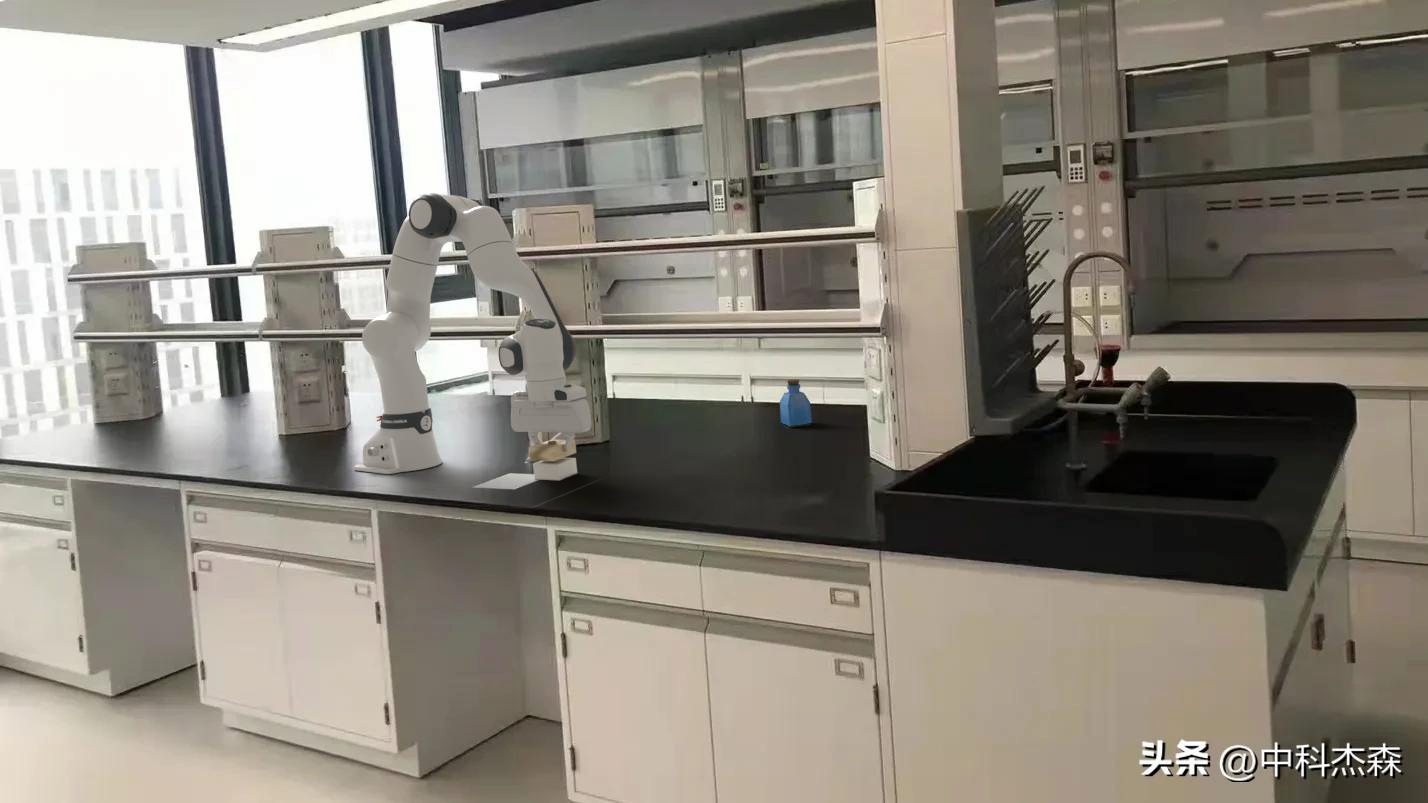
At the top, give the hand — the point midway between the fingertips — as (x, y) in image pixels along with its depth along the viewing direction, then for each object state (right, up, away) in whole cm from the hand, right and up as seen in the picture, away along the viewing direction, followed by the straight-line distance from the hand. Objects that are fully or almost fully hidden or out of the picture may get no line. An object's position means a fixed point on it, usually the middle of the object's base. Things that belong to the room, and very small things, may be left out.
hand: (553, 451), depth 273 cm
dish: (+1, -6, +1) cm, 6 cm away
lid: (0, -1, 0) cm, 1 cm away
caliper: (-5, -3, +28) cm, 29 cm away
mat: (-9, -7, -1) cm, 12 cm away
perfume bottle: (+58, +5, +44) cm, 73 cm away
